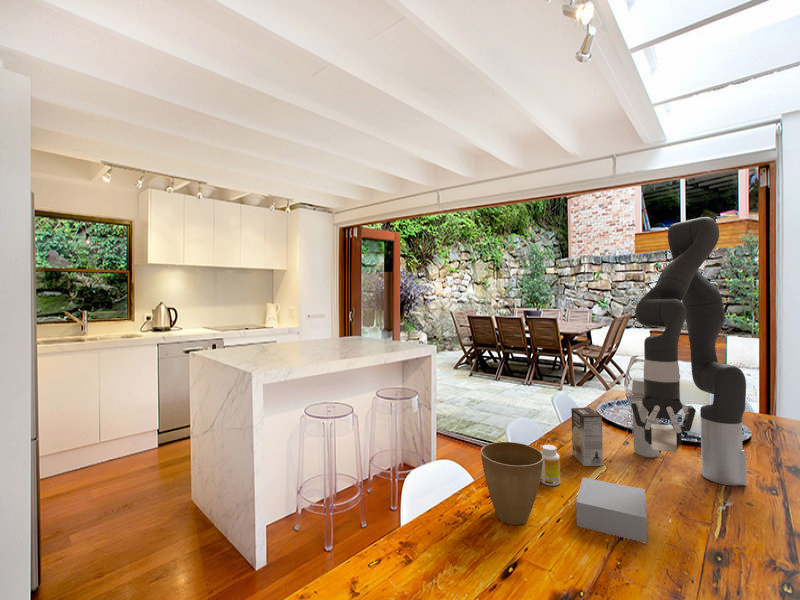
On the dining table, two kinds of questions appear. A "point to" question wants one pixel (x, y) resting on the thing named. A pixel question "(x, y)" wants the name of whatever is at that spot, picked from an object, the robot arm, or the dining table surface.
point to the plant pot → (512, 479)
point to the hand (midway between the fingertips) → (662, 444)
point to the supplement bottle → (550, 466)
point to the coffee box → (587, 436)
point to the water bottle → (637, 431)
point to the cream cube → (663, 438)
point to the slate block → (612, 509)
